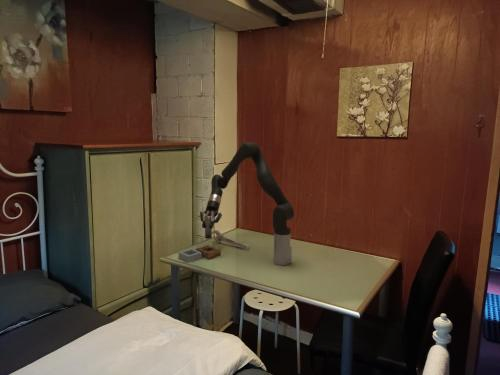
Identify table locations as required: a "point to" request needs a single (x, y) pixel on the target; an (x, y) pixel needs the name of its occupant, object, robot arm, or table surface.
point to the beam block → (209, 252)
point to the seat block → (190, 255)
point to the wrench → (229, 240)
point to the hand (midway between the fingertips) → (207, 227)
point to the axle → (208, 227)
